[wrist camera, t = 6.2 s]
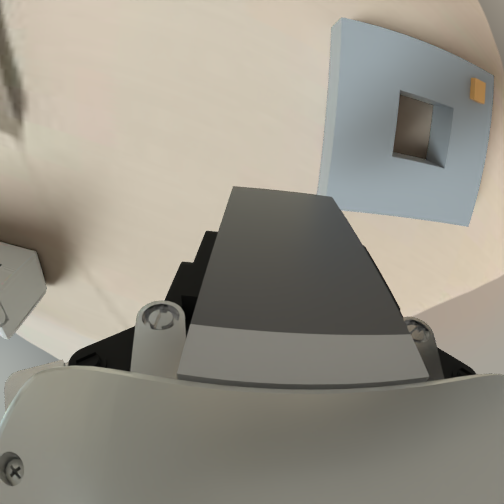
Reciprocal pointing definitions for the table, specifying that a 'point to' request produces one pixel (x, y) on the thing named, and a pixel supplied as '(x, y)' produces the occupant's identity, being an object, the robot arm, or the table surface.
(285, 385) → the plug
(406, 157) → the socket
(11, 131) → the table surface
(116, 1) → the table surface
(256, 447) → the robot arm
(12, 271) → the stereo radio cassette player
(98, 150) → the table surface
